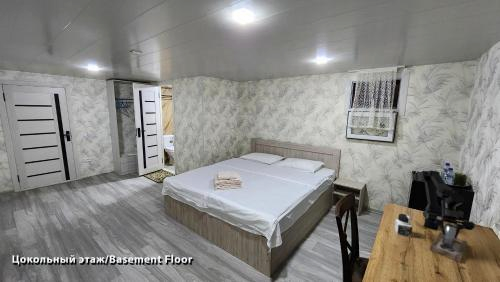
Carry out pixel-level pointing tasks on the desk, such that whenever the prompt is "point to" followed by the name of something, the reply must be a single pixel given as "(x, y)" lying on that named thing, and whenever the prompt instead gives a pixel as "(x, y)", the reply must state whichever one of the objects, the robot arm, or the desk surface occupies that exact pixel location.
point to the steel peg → (449, 236)
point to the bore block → (456, 251)
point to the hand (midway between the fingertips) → (449, 236)
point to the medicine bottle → (403, 225)
